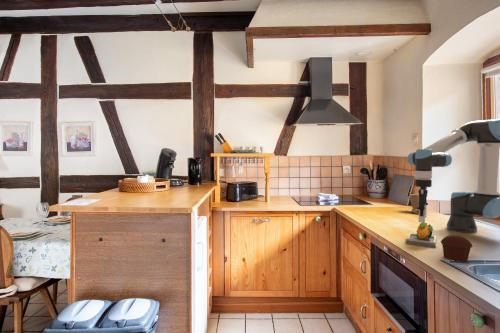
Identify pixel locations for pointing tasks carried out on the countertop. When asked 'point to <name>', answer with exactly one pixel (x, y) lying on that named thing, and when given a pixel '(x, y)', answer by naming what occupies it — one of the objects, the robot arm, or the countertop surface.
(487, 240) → the countertop surface
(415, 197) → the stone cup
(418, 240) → the board
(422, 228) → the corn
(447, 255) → the muffin
